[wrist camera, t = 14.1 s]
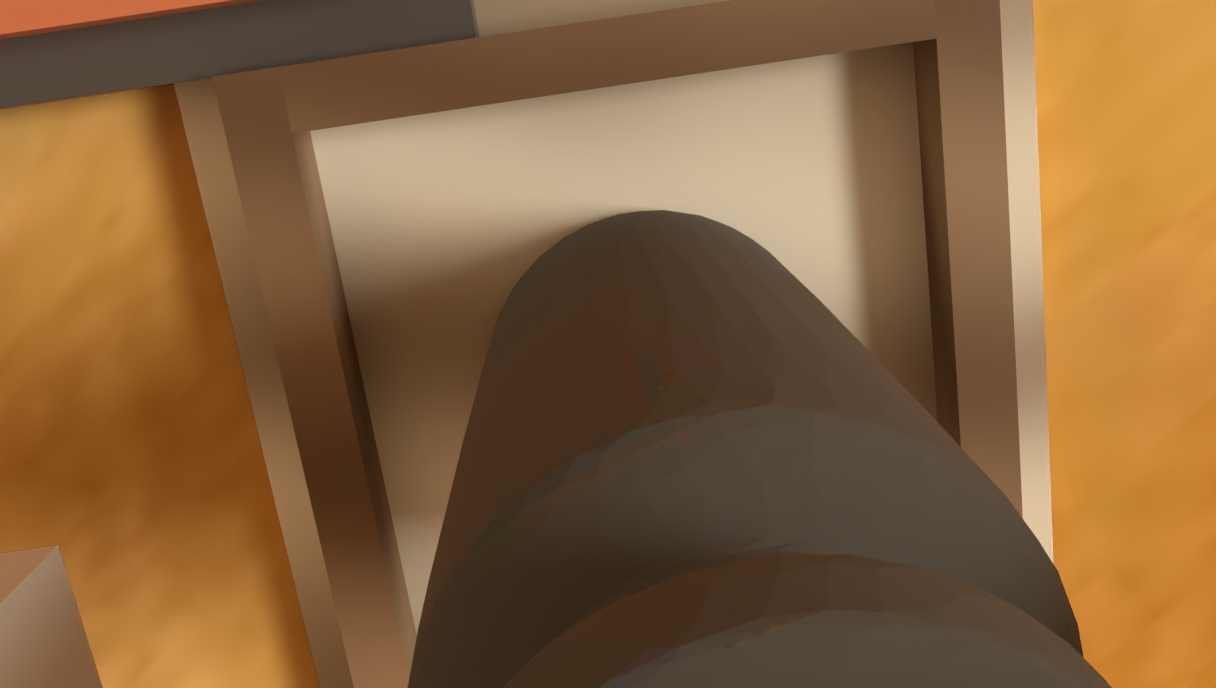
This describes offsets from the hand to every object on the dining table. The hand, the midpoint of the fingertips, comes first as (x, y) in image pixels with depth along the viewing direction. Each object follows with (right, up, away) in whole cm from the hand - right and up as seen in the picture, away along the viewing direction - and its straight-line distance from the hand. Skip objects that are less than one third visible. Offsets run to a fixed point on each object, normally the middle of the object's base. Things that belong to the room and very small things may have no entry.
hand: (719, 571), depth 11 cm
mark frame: (0, +2, +8) cm, 9 cm away
